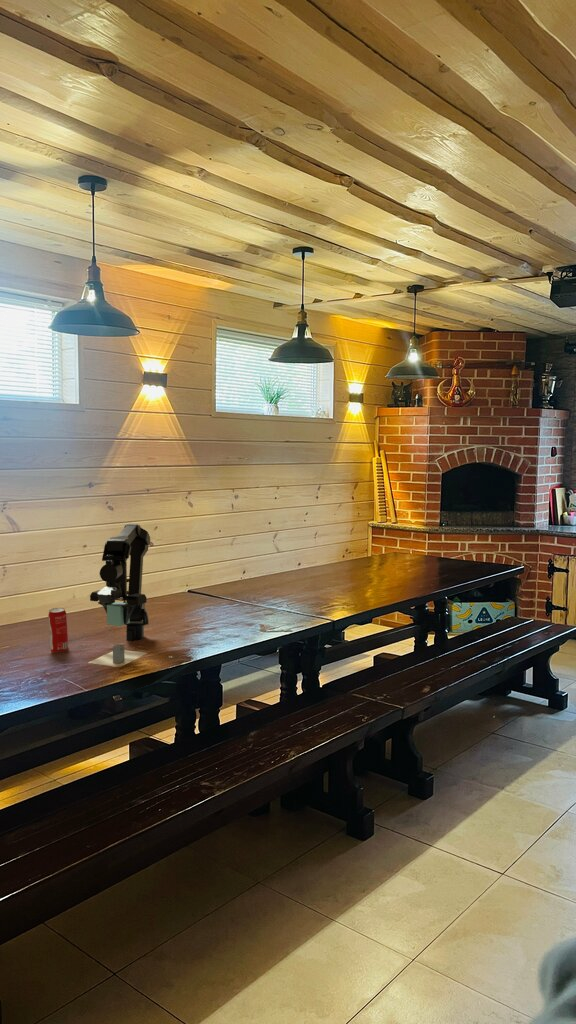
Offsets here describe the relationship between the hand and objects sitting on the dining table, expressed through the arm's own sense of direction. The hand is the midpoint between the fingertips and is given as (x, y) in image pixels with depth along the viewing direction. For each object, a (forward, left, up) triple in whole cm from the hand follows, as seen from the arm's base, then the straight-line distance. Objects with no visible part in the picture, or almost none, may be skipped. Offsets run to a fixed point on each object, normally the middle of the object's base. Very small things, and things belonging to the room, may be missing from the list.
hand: (118, 623), depth 236 cm
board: (+3, +1, -12) cm, 12 cm away
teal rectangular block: (0, 0, 0) cm, 0 cm away
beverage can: (+3, -23, -12) cm, 26 cm away
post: (+7, +4, -11) cm, 13 cm away
